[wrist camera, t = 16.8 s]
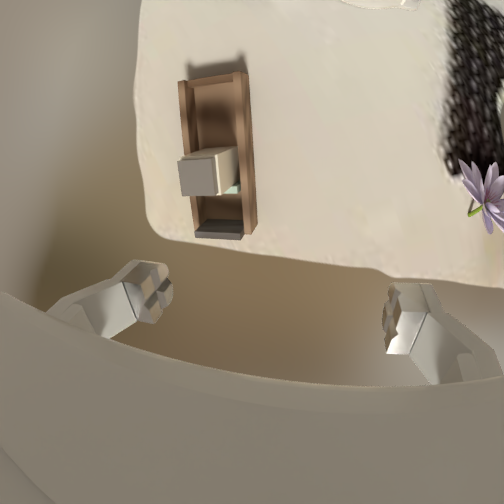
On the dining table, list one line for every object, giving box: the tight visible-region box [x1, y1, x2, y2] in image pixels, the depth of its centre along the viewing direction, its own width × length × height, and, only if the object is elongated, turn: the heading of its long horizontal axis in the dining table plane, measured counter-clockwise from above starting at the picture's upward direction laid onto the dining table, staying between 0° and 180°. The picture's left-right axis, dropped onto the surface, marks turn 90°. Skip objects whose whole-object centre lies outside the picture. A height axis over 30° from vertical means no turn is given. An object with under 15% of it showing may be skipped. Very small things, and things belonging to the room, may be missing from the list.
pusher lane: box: [178, 71, 258, 240], centre depth 36 cm, size 23×9×6 cm, turn 4°
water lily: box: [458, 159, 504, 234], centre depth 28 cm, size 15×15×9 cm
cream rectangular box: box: [177, 146, 240, 196], centre depth 35 cm, size 5×5×9 cm
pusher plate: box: [223, 180, 241, 194], centre depth 38 cm, size 1×6×4 cm, turn 93°
